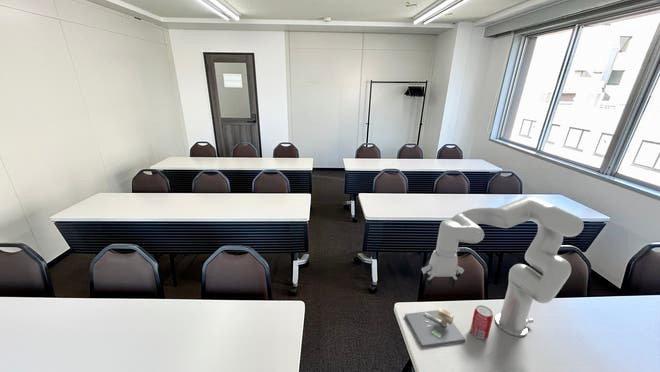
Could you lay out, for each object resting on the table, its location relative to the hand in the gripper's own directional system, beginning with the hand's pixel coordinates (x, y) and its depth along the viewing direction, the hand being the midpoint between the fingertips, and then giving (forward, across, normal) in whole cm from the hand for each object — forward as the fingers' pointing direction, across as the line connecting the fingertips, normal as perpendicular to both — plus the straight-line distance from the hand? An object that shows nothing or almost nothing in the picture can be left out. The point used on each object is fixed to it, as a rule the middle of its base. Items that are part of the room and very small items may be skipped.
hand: (439, 285), depth 110 cm
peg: (+24, -4, -5) cm, 24 cm away
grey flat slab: (+25, -2, -2) cm, 25 cm away
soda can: (+26, -21, +1) cm, 33 cm away
